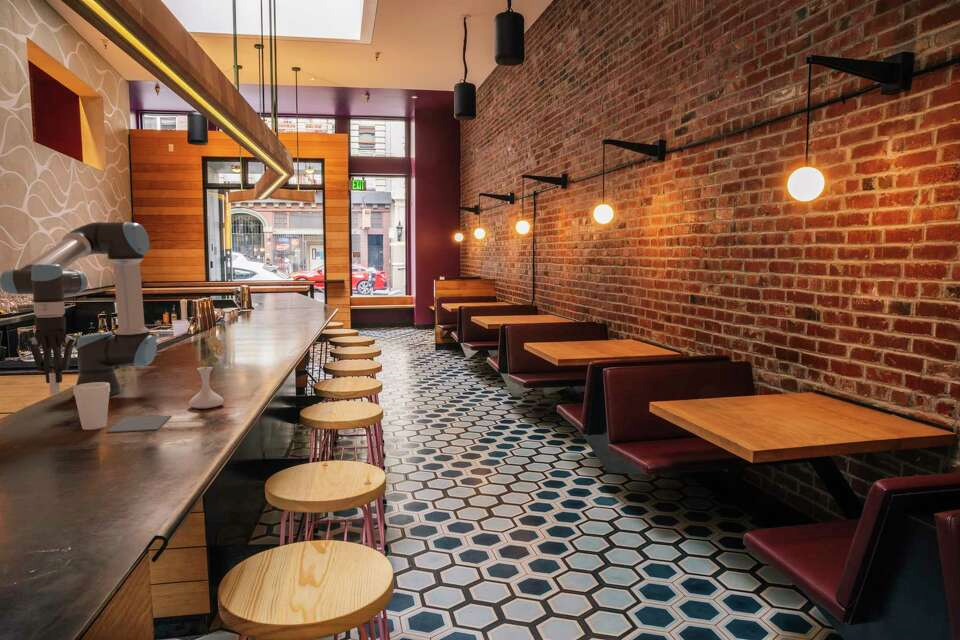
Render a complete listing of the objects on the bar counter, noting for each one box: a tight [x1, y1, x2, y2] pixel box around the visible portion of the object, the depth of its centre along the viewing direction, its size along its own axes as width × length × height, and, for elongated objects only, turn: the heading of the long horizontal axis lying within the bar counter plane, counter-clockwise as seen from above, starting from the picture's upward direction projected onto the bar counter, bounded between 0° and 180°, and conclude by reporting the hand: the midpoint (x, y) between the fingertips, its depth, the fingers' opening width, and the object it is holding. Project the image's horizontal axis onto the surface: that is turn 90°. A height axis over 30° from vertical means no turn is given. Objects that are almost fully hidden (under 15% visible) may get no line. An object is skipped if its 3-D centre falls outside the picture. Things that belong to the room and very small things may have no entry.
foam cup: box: [72, 382, 110, 431], centre depth 187 cm, size 10×9×13 cm
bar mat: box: [105, 414, 172, 434], centre depth 191 cm, size 16×14×1 cm
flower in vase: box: [187, 334, 226, 409], centre depth 212 cm, size 13×11×25 cm
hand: (55, 393), depth 184 cm, fingers closed
